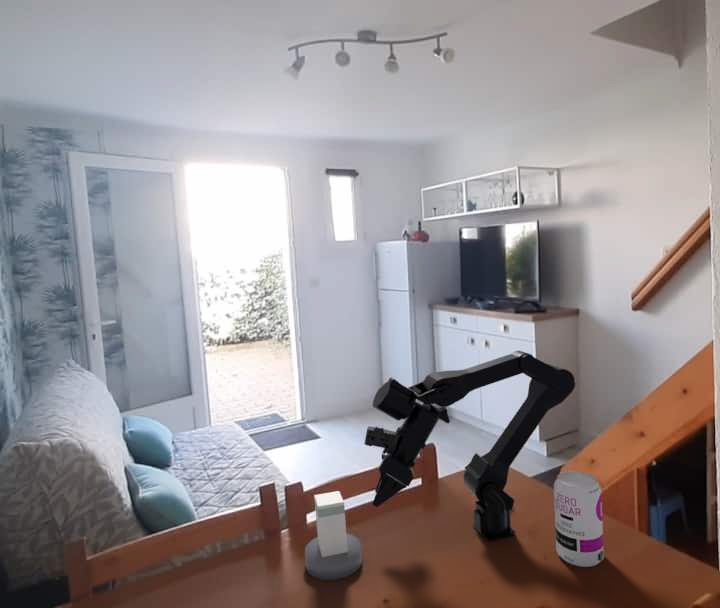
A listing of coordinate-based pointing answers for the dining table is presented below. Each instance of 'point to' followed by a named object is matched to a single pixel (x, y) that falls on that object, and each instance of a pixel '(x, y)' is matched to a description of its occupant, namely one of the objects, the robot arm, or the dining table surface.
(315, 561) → the grey dome
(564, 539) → the supplement can
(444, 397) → the robot arm
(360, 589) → the dining table surface
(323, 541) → the carton
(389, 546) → the dining table surface
